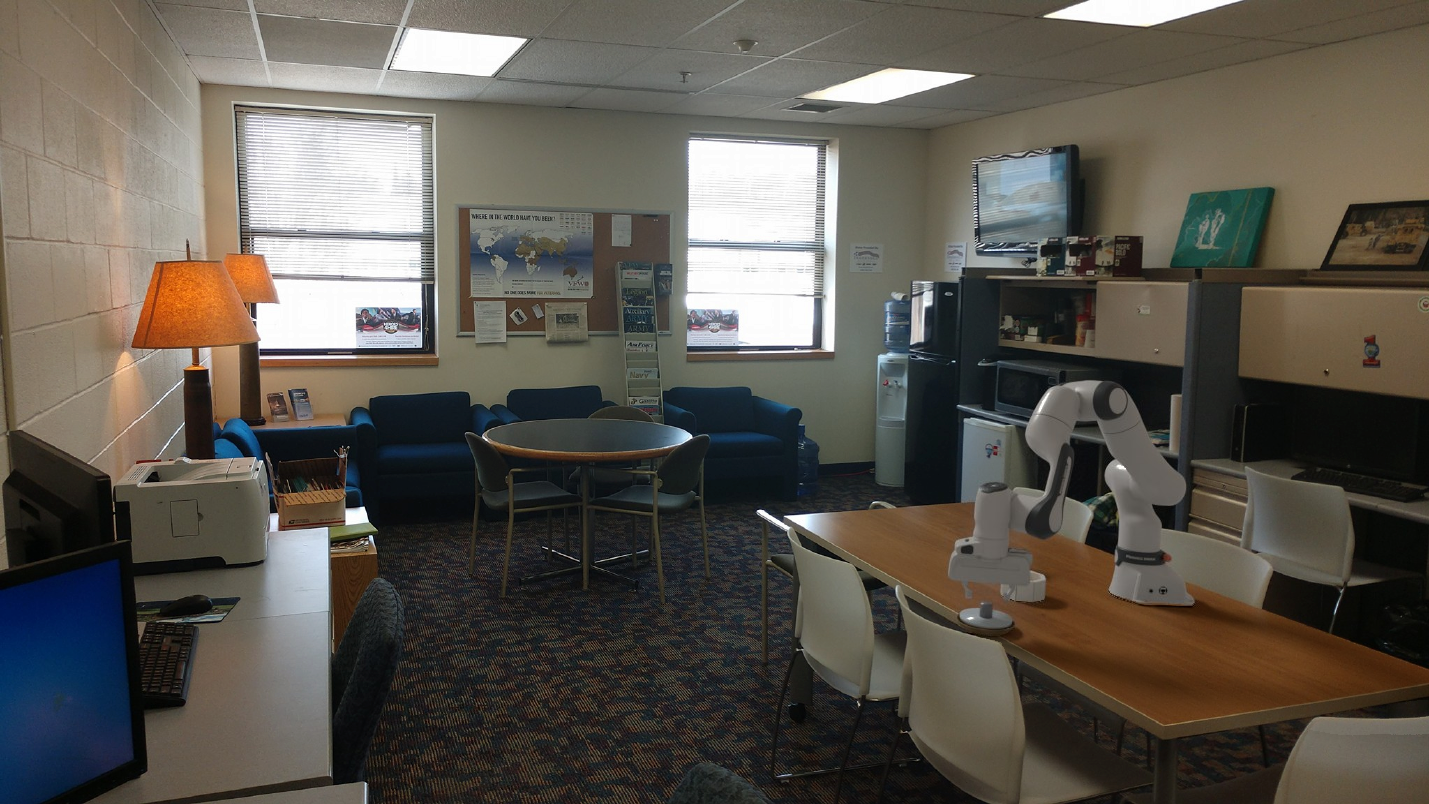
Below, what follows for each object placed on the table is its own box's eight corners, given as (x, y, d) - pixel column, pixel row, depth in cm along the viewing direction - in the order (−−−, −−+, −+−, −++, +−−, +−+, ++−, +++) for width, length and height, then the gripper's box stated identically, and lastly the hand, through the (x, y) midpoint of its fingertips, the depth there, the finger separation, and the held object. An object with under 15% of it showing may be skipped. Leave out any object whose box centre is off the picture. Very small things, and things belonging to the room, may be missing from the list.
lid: (1009, 614, 252) (1010, 597, 251) (1014, 631, 239) (1015, 614, 239) (958, 609, 254) (959, 593, 254) (960, 626, 242) (961, 609, 241)
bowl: (1041, 591, 278) (1042, 571, 277) (1046, 604, 267) (1047, 583, 266) (999, 587, 280) (1000, 567, 280) (1002, 600, 269) (1004, 579, 269)
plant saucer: (958, 637, 241) (958, 627, 241) (952, 617, 255) (953, 608, 255) (1018, 642, 239) (1019, 632, 238) (1010, 622, 253) (1011, 612, 253)
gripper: (1031, 546, 245) (1028, 598, 247) (949, 540, 250) (946, 591, 251) (1034, 553, 239) (1031, 606, 241) (950, 546, 243) (947, 599, 245)
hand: (987, 599), depth 246 cm, fingers open, 8 cm apart
